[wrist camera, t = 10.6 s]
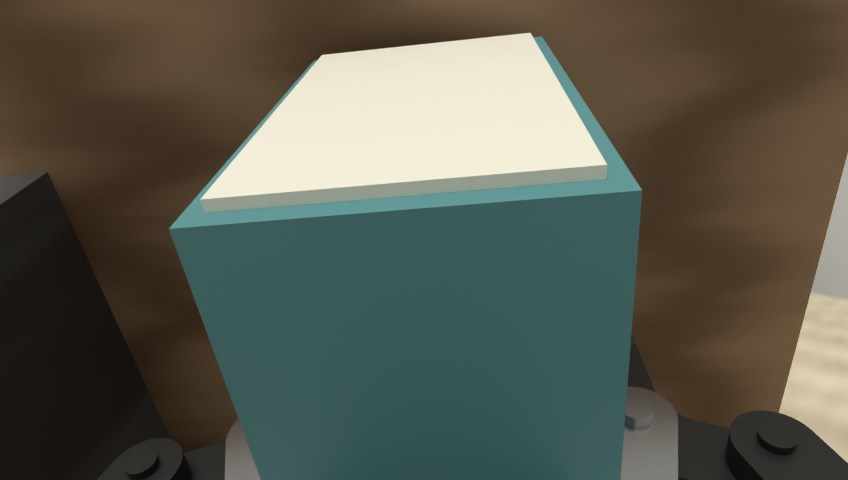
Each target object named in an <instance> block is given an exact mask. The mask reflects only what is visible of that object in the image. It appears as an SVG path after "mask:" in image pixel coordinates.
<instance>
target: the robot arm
mask: <svg viewBox="0 0 848 480" xmlns="http://www.w3.org/2000/svg"><path fill="white" fill-rule="evenodd" d="M97 480H261V479H260V476H259V473H258V470H257V468H256V465H255V462H254V460H253V457H252V454H251V451H250V449H249V446H248V443H247V440H246V438H245V435H244V432H243V430H242V427H241V424H240V421H239V419H238V420H237V421H236V422H235V423H234V425H233V426H232V427H231V429H230V430H229V432H228V435H227V437H226V440H224V441H222V442H219V443H216V444H213V445H210V446H207V447H204V448H200V449H197V450H194V451H191V452H187V453H183V451H182V448H181V446H180V445H179V444H178V443H177V442H176V441H174V440H172V439H169V438H154V439H150V440H146V441H143V442H141V443H138V444H136V445H134V446H132V447H131V448H129V449H128V450H126V451H125V452H123V453H122V454H121V455H120V456H119V457H118V458H116V459H115V460H114V462H113V463H112V464H111V465H110V466H109V467H108V468H107V469H106V470H105V471H104V472H103V473H102V475H101V476H100V477H99V478H98V479H97ZM620 480H848V463H847V462H846V461H845V460H843V459H842V458H841V457H840V456H839V455H838V454H837V453H836V452H835V451H834V450H833V449H831V448H830V447H829V446H828V445H827V444H826V443H825V442H824V441H823V440H822V439H821V438H820V437H818V436H817V435H816V434H815V433H814V432H813V431H812V430H811V429H809V428H808V427H807V426H806V425H804V424H803V423H801V422H799V421H798V420H796V419H794V418H792V417H789V416H786V415H784V414H780V413H777V412H772V411H761V410H759V411H750V412H746V413H743V414H741V415H739V416H738V417H736V418H735V419H734V420H733V422H732V424H731V426H730V428H729V427H724V426H719V425H714V424H709V423H704V422H700V421H695V420H692V419H689V418H687V417H684V416H682V415H680V414H678V413H676V411H675V409H674V407H673V406H672V405H671V404H670V402H669V401H668V400H666V399H665V398H664V397H662V396H661V395H659V394H658V393H656V392H655V389H654V387H653V385H652V382H651V380H650V377H649V375H648V372H647V370H646V368H645V365H644V363H643V360H642V358H641V355H640V353H639V351H638V348H637V346H636V343H634V338H633V336H632V334H631V346H630V359H629V373H628V386H627V399H626V412H625V426H624V439H623V452H622V466H621V479H620Z"/></svg>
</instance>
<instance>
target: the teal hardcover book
mask: <svg viewBox="0 0 848 480" xmlns="http://www.w3.org/2000/svg"><path fill="white" fill-rule="evenodd" d="M641 200H642V189H641V188H640V186H639V185H638V183H637V182H636V180H635V179H634V177H633V175H632V174H631V172H630V171H629V169H628V168H627V166H626V165H625V163H624V162H623V160H622V159H621V157H620V155H619V154H618V152H617V151H616V149H615V148H614V146H613V145H612V143H611V142H610V140H609V139H608V137H607V135H606V134H605V132H604V131H603V129H602V128H601V126H600V125H599V123H598V122H597V120H596V119H595V117H594V116H593V114H592V112H591V111H590V109H589V108H588V106H587V105H586V103H585V102H584V100H583V99H582V97H581V96H580V94H579V92H578V91H577V89H576V88H575V86H574V85H573V83H572V82H571V80H570V79H569V77H568V76H567V74H566V73H565V71H564V69H563V68H562V66H561V65H560V63H559V62H558V60H557V59H556V57H555V56H554V54H553V53H552V51H551V49H550V48H549V46H548V45H547V43H546V42H545V40H544V39H543V37H542V36H541V37H533V36H532V35H531V33H523V34H514V35H504V36H495V37H486V38H476V39H467V40H458V41H448V42H439V43H430V44H420V45H411V46H401V47H392V48H383V49H373V50H364V51H355V52H345V53H336V54H327V55H321V57H320V58H319V59H318V60H314V61H313V62H312V63H311V65H310V66H309V67H308V68H307V69H306V70H305V72H304V73H303V74H302V75H301V76H300V77H299V79H298V80H297V81H296V82H295V83H294V84H293V85H292V87H291V88H290V89H289V90H288V91H287V92H286V94H285V95H284V96H283V97H282V98H281V99H280V101H279V102H278V103H277V104H276V105H275V106H274V107H273V109H272V110H271V111H270V112H269V113H268V114H267V116H266V117H265V118H264V119H263V120H262V121H261V123H260V124H259V125H258V126H257V127H256V128H255V129H254V131H253V132H252V133H251V134H250V135H249V136H248V138H247V139H246V140H245V141H244V142H243V143H242V145H241V146H240V147H239V148H238V149H237V150H236V152H235V153H234V154H233V155H232V156H231V157H230V158H229V160H228V161H227V162H226V163H225V164H224V165H223V167H222V168H221V169H220V170H219V171H218V172H217V174H216V175H215V176H214V177H213V178H212V179H211V180H210V182H209V183H208V184H207V185H206V186H205V187H204V189H203V190H202V191H201V192H200V193H199V194H198V196H197V197H196V198H195V199H194V200H193V201H192V203H191V204H190V205H189V206H188V207H187V208H186V209H185V211H184V212H183V213H182V214H181V215H180V216H179V218H178V219H177V220H176V221H175V222H174V223H173V225H172V226H171V227H170V228H169V231H170V234H171V236H172V239H173V242H174V245H175V247H176V250H177V253H178V255H179V258H180V261H181V264H182V266H183V269H184V272H185V274H186V277H187V280H188V283H189V285H190V288H191V291H192V294H193V296H194V299H195V302H196V304H197V307H198V310H199V313H200V315H201V318H202V321H203V323H204V326H205V329H206V332H207V334H208V337H209V340H210V343H211V345H212V348H213V351H214V353H215V356H216V359H217V362H218V364H219V367H220V370H221V372H222V375H223V378H224V381H225V383H226V386H227V389H228V391H229V394H230V397H231V400H232V402H233V405H234V408H235V411H236V413H237V416H238V419H239V421H240V424H241V427H242V430H243V432H244V435H245V438H246V440H247V443H248V446H249V449H250V451H251V454H252V457H253V460H254V462H255V465H256V468H257V470H258V473H259V476H260V479H261V480H620V479H621V466H622V452H623V439H624V426H625V412H626V399H627V386H628V373H629V359H630V346H631V333H632V319H633V306H634V293H635V280H636V266H637V253H638V240H639V226H640V213H641Z"/></svg>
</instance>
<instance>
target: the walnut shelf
mask: <svg viewBox="0 0 848 480" xmlns="http://www.w3.org/2000/svg"><path fill="white" fill-rule="evenodd" d="M523 33H531V35H532V36H533V37H541V36H542V37H543V39H544V40H545V42H546V43H547V45H548V46H549V48H550V49H551V51H552V53H553V54H554V56H555V57H556V59H557V60H558V62H559V63H560V65H561V66H562V68H563V69H564V71H565V73H566V74H567V76H568V77H569V79H570V80H571V82H572V83H573V85H574V86H575V88H576V89H577V91H578V92H579V94H580V96H581V97H582V99H583V100H584V102H585V103H586V105H587V106H588V108H589V109H590V111H591V112H592V114H593V116H594V117H595V119H596V120H597V122H598V123H599V125H600V126H601V128H602V129H603V131H604V132H605V134H606V135H607V137H608V139H609V140H610V142H611V143H612V145H613V146H614V148H615V149H616V151H617V152H618V154H619V155H620V157H621V159H622V160H623V162H624V163H625V165H626V166H627V168H628V169H629V171H630V172H631V174H632V175H633V177H634V179H635V180H636V182H637V183H638V185H639V186H640V188H641V189H642V200H641V213H640V226H639V240H638V253H637V266H636V280H635V293H634V306H633V319H632V333H631V334H632V336H633V338H634V343H636V346H637V348H638V351H639V353H640V355H641V358H642V360H643V363H644V365H645V368H646V370H647V372H648V375H649V377H650V380H651V382H652V385H653V387H654V389H655V392H656V393H658V394H659V395H661V396H662V397H664V398H665V399H666V400H668V401H669V402H670V404H671V405H672V406H673V407H674V409H675V411H676V413H678V414H680V415H682V416H684V417H687V418H689V419H692V420H695V421H700V422H704V423H709V424H714V425H719V426H724V427H729V428H730V426H731V424H732V422H733V420H734V419H735V418H736V417H738V416H739V415H741V414H743V413H746V412H750V411H759V410H761V411H772V412H777V413H779V409H780V405H781V402H782V398H783V394H784V390H785V387H786V383H787V379H788V375H789V372H790V368H791V364H792V360H793V356H794V353H795V349H796V345H797V341H798V338H799V334H800V330H801V326H802V323H803V319H804V315H805V311H806V307H807V304H808V300H809V296H810V292H811V288H812V284H813V281H814V277H815V274H816V270H817V266H818V262H819V258H820V254H821V250H822V247H823V243H824V240H825V236H826V232H827V228H828V224H829V221H830V217H831V213H832V209H833V205H834V202H835V198H836V194H837V191H838V187H839V183H840V179H841V175H842V171H843V168H844V164H845V160H846V157H847V153H848V0H0V480H97V479H98V478H99V477H100V476H101V475H102V473H103V472H104V471H105V470H106V469H107V468H108V467H109V466H110V465H111V464H112V463H113V462H114V460H115V459H116V458H118V457H119V456H120V455H121V454H122V453H123V452H125V451H126V450H128V449H129V448H131V447H132V446H134V445H136V444H138V443H141V442H143V441H146V440H150V439H154V438H169V439H172V440H174V441H176V442H177V443H178V444H179V445H180V446H181V448H182V451H183V453H187V452H191V451H194V450H197V449H200V448H204V447H207V446H210V445H213V444H216V443H219V442H222V441H224V440H226V437H227V435H228V432H229V430H230V429H231V427H232V426H233V425H234V423H235V422H236V421H237V420H238V416H237V413H236V411H235V408H234V405H233V402H232V400H231V397H230V394H229V391H228V389H227V386H226V383H225V381H224V378H223V375H222V372H221V370H220V367H219V364H218V362H217V359H216V356H215V353H214V351H213V348H212V345H211V343H210V340H209V337H208V334H207V332H206V329H205V326H204V323H203V321H202V318H201V315H200V313H199V310H198V307H197V304H196V302H195V299H194V296H193V294H192V291H191V288H190V285H189V283H188V280H187V277H186V274H185V272H184V269H183V266H182V264H181V261H180V258H179V255H178V253H177V250H176V247H175V245H174V242H173V239H172V236H171V234H170V231H169V228H170V227H171V226H172V225H173V223H174V222H175V221H176V220H177V219H178V218H179V216H180V215H181V214H182V213H183V212H184V211H185V209H186V208H187V207H188V206H189V205H190V204H191V203H192V201H193V200H194V199H195V198H196V197H197V196H198V194H199V193H200V192H201V191H202V190H203V189H204V187H205V186H206V185H207V184H208V183H209V182H210V180H211V179H212V178H213V177H214V176H215V175H216V174H217V172H218V171H219V170H220V169H221V168H222V167H223V165H224V164H225V163H226V162H227V161H228V160H229V158H230V157H231V156H232V155H233V154H234V153H235V152H236V150H237V149H238V148H239V147H240V146H241V145H242V143H243V142H244V141H245V140H246V139H247V138H248V136H249V135H250V134H251V133H252V132H253V131H254V129H255V128H256V127H257V126H258V125H259V124H260V123H261V121H262V120H263V119H264V118H265V117H266V116H267V114H268V113H269V112H270V111H271V110H272V109H273V107H274V106H275V105H276V104H277V103H278V102H279V101H280V99H281V98H282V97H283V96H284V95H285V94H286V92H287V91H288V90H289V89H290V88H291V87H292V85H293V84H294V83H295V82H296V81H297V80H298V79H299V77H300V76H301V75H302V74H303V73H304V72H305V70H306V69H307V68H308V67H309V66H310V65H311V63H312V62H313V61H314V60H318V59H319V58H320V57H321V55H327V54H336V53H345V52H355V51H364V50H373V49H383V48H392V47H401V46H411V45H420V44H430V43H439V42H448V41H458V40H467V39H476V38H486V37H495V36H504V35H514V34H523Z"/></svg>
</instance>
